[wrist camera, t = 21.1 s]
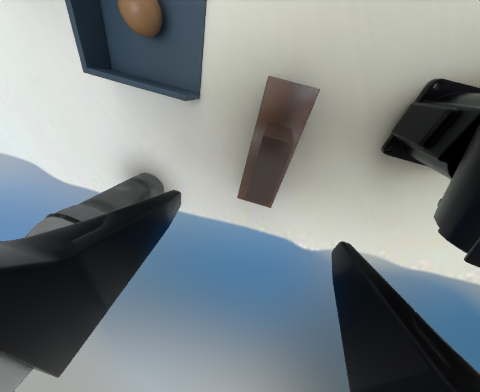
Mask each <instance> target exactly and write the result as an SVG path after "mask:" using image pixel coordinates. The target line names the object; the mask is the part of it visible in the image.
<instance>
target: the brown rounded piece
mask: <svg viewBox="0 0 480 392" xmlns="http://www.w3.org/2000/svg"><path fill="white" fill-rule="evenodd" d="M118 6H119V10H120V13H121V15H122V17H123V19H124V21H125V22H126V24H127V25H128V26H129V27H130V28H131V29H132V30H133V31H134V32H135V33H137V34H138V35H140V36H143V37H153V36H155V35H156V34H157V33H158V32H159V31H160V29H161V26H162V12H161V8H160V5H159V3H158V1H157V0H118Z"/></svg>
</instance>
